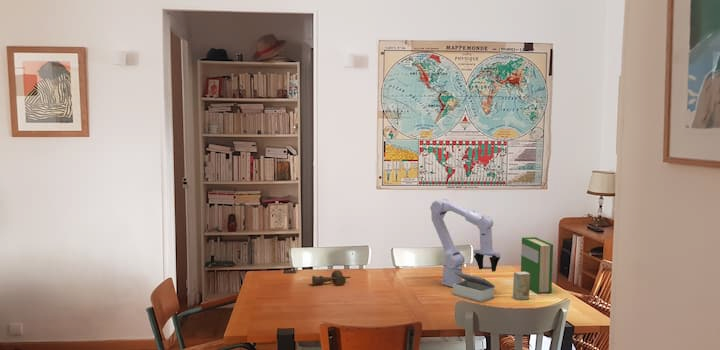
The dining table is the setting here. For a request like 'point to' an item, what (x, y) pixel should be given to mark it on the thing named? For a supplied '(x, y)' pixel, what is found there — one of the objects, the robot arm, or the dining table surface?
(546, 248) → the hardback book
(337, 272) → the kendama
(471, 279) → the lid
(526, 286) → the skincare box
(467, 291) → the box
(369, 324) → the dining table surface
